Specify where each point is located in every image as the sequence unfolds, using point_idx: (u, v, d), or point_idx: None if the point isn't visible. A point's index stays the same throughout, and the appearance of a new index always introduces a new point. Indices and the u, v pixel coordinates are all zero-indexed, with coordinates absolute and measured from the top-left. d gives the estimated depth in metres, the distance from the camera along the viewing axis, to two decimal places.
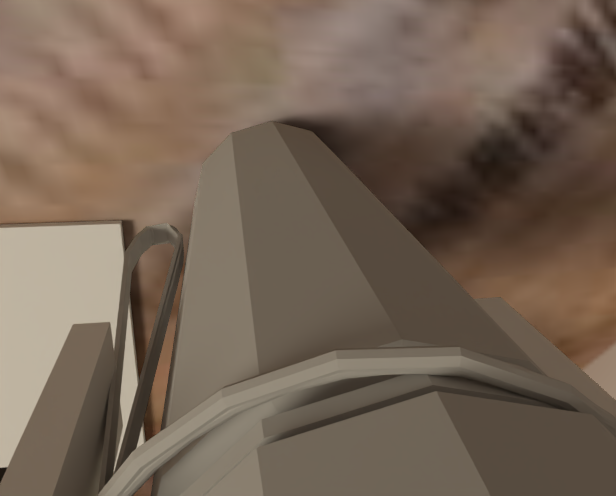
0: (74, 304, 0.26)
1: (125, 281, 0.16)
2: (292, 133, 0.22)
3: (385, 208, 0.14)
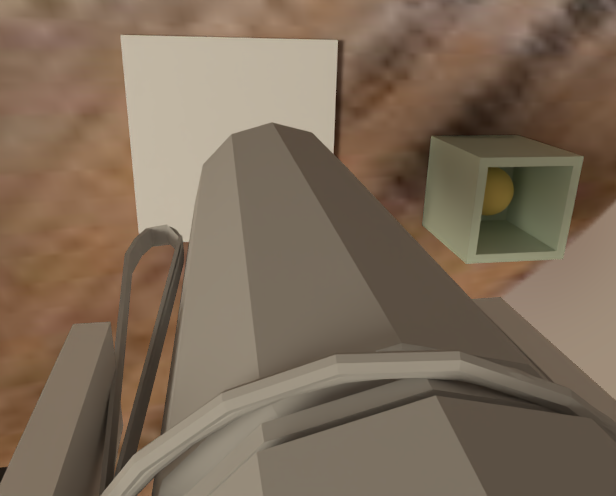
0: (300, 99, 0.38)
1: (125, 283, 0.16)
2: (292, 134, 0.22)
3: (385, 210, 0.14)
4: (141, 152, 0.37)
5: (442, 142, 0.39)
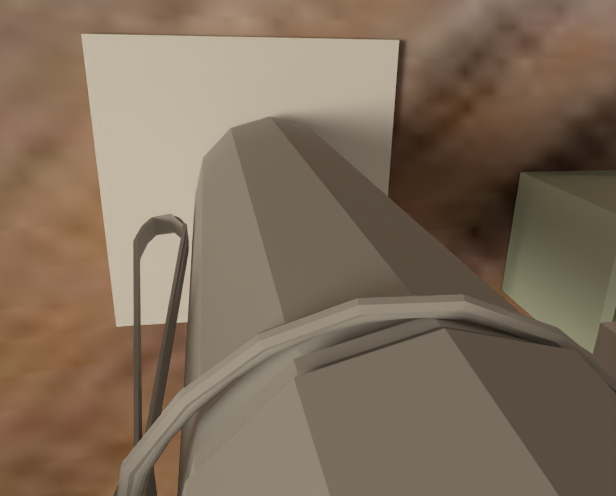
0: (343, 125, 0.27)
1: (137, 266, 0.17)
2: (290, 127, 0.23)
3: None
4: (116, 202, 0.26)
5: (542, 184, 0.28)
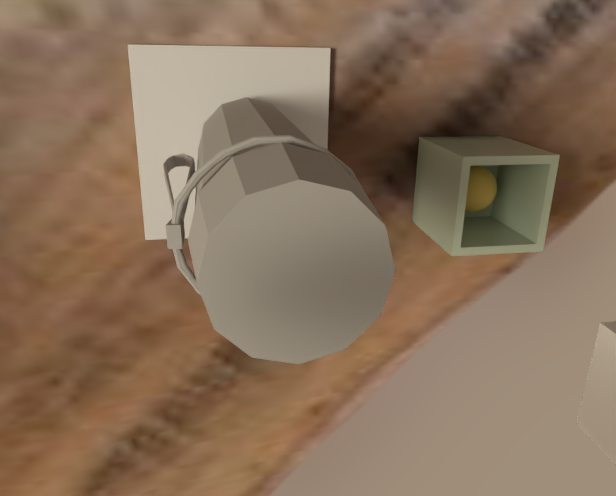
0: (295, 103, 0.41)
1: (167, 172, 0.31)
2: (258, 102, 0.37)
3: None
4: (147, 153, 0.40)
5: (429, 143, 0.42)
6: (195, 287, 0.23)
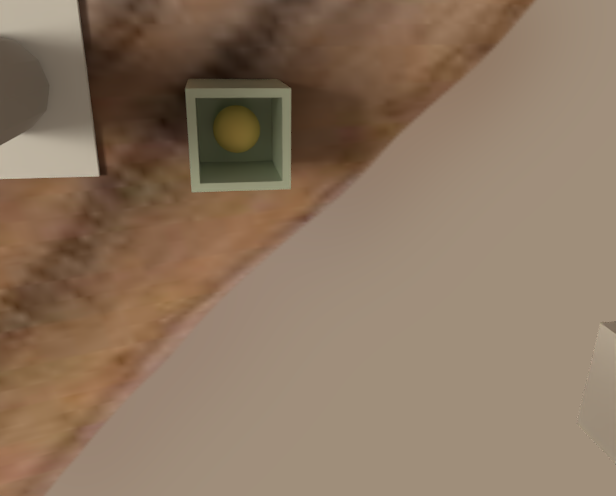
0: (46, 41, 0.40)
1: None
2: None
3: None
4: None
5: (187, 82, 0.41)
6: None
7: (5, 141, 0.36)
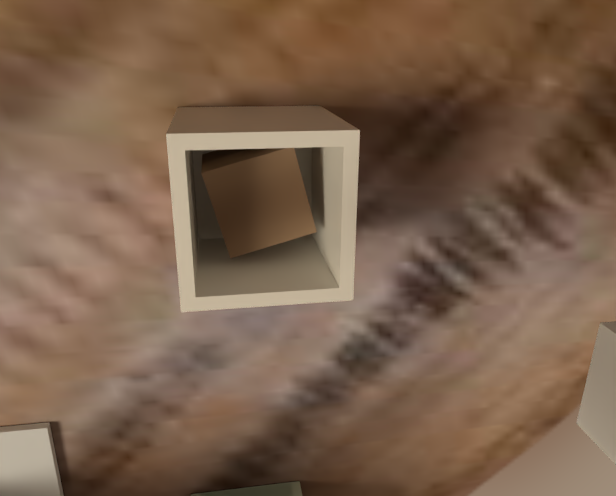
0: (12, 486, 0.32)
1: None
2: None
3: None
4: None
5: None
6: None
7: None
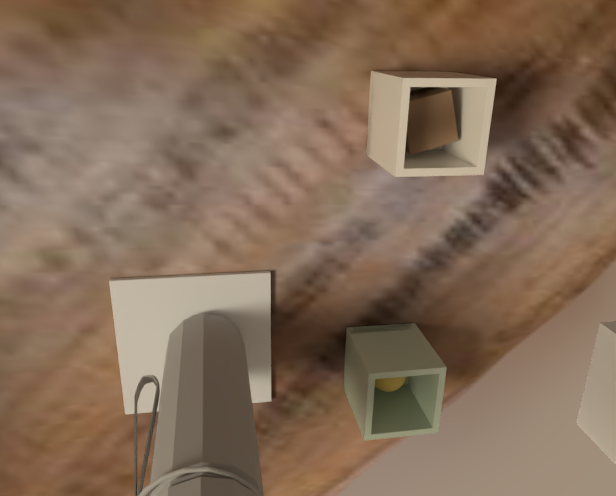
0: (244, 312, 0.51)
1: (136, 413, 0.41)
2: (210, 327, 0.47)
3: (231, 392, 0.40)
4: (125, 354, 0.50)
5: (351, 339, 0.52)
6: None
7: None
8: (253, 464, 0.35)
